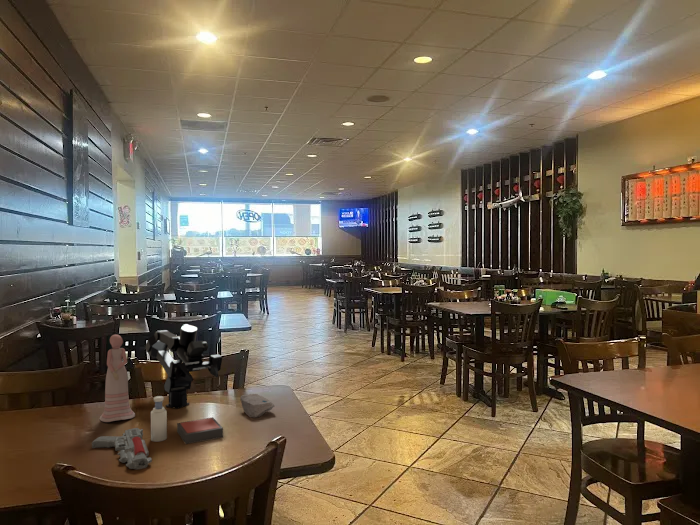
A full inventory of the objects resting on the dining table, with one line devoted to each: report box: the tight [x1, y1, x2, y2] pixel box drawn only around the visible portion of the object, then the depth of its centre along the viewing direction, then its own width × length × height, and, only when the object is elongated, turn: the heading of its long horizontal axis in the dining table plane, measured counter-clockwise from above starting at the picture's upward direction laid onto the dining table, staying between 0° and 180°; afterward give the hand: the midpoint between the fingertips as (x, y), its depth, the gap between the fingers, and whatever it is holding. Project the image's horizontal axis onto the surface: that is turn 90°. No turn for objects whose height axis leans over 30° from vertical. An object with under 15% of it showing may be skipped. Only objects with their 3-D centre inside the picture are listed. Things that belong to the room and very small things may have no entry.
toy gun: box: [91, 427, 153, 470], centre depth 154 cm, size 4×27×15 cm
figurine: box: [99, 334, 136, 423], centre depth 186 cm, size 13×13×30 cm
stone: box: [240, 393, 275, 418], centre depth 193 cm, size 13×10×6 cm
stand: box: [176, 417, 224, 445], centre depth 170 cm, size 12×12×3 cm
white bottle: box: [150, 395, 168, 443], centre depth 166 cm, size 5×5×14 cm
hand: (205, 378), depth 180 cm, fingers open, 9 cm apart
